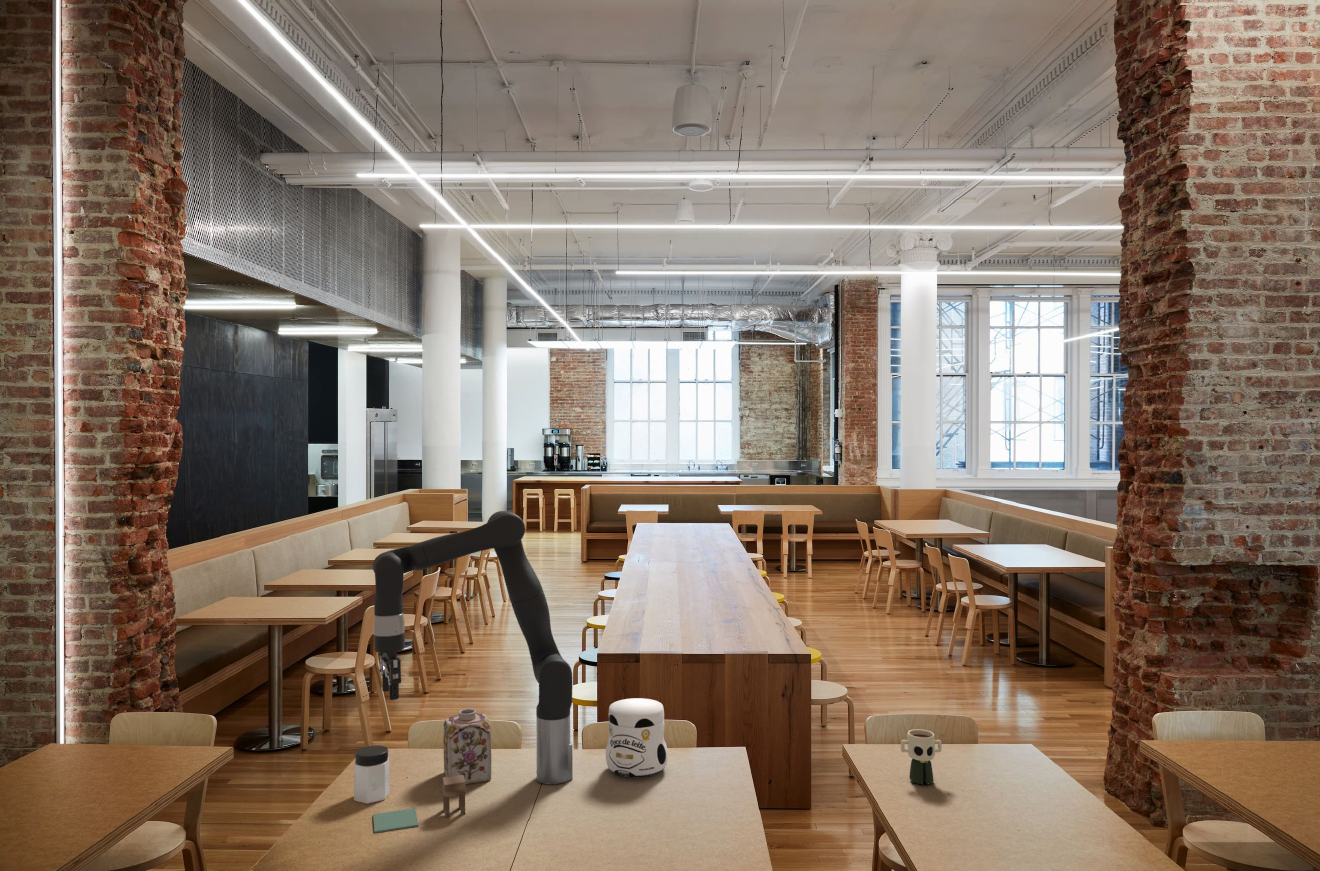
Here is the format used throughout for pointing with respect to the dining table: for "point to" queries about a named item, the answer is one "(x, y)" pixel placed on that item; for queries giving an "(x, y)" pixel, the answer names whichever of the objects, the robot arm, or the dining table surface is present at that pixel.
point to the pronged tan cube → (454, 792)
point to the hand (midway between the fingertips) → (390, 695)
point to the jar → (371, 774)
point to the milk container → (636, 738)
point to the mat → (395, 820)
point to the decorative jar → (468, 746)
